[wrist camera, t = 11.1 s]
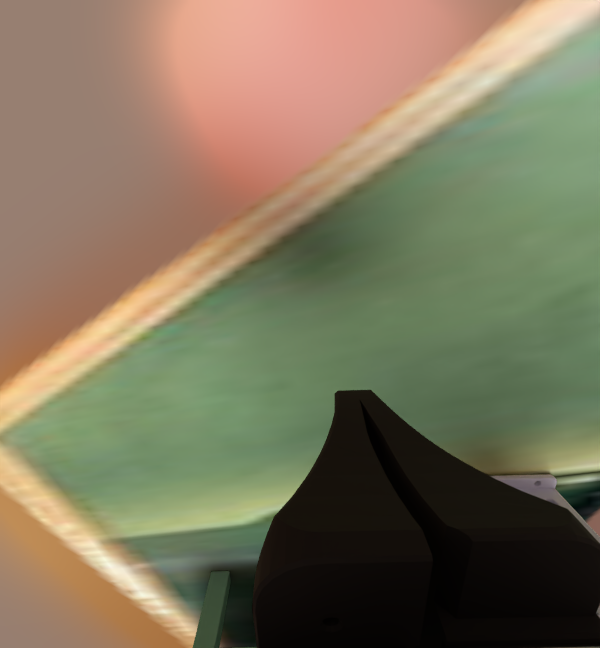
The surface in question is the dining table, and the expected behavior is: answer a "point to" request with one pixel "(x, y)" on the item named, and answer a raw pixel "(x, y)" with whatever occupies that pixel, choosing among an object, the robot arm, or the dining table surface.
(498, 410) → the dining table surface
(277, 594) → the robot arm
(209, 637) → the shelf
